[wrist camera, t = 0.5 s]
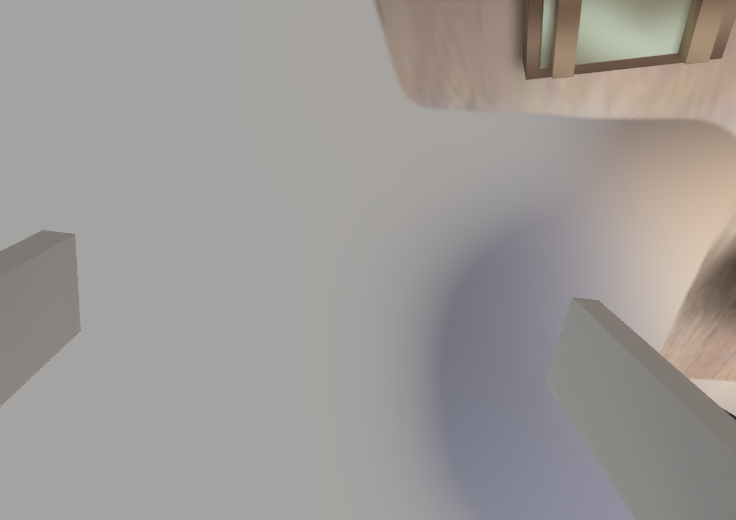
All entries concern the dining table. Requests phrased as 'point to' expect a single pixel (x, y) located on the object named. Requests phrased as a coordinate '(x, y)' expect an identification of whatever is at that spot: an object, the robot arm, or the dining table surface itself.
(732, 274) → the dining table surface
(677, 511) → the robot arm
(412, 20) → the dining table surface
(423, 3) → the dining table surface
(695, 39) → the wooden tray
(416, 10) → the dining table surface
